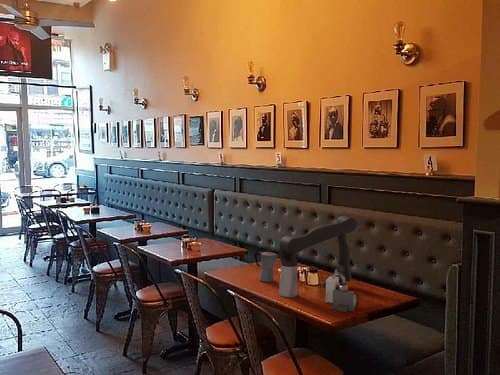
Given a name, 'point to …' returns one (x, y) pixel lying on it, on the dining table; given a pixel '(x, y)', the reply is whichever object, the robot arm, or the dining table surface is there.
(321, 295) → the dining table surface
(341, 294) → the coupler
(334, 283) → the block
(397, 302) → the dining table surface
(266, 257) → the moka pot
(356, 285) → the dining table surface
